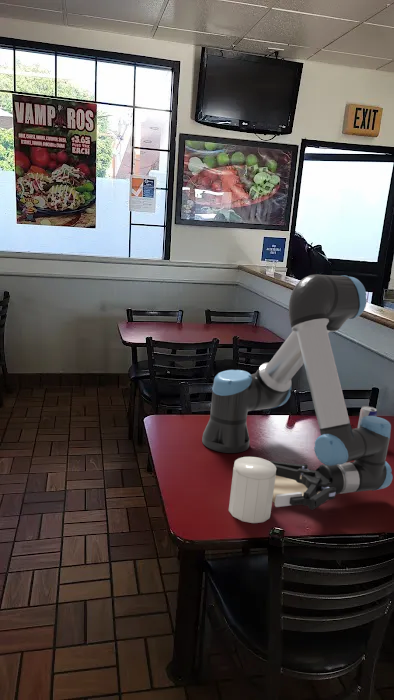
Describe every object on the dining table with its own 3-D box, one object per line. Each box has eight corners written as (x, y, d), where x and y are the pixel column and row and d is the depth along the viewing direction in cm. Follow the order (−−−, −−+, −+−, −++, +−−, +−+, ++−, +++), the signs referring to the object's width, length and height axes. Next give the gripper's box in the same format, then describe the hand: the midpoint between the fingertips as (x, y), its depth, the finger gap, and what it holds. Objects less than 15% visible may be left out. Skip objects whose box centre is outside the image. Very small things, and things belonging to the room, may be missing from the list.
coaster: (252, 479, 138) (252, 476, 138) (296, 475, 143) (296, 472, 143) (276, 505, 125) (277, 502, 125) (324, 500, 130) (324, 497, 130)
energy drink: (372, 445, 170) (378, 412, 168) (356, 443, 171) (362, 409, 169) (370, 439, 176) (376, 407, 173) (354, 437, 176) (360, 405, 174)
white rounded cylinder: (222, 502, 124) (227, 458, 122) (258, 498, 128) (264, 455, 125) (239, 525, 115) (245, 477, 113) (277, 520, 119) (284, 473, 116)
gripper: (365, 518, 117) (286, 529, 110) (307, 470, 140) (238, 476, 132) (370, 489, 115) (291, 498, 108) (311, 445, 138) (241, 450, 131)
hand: (262, 486), depth 120 cm, fingers open, 13 cm apart
